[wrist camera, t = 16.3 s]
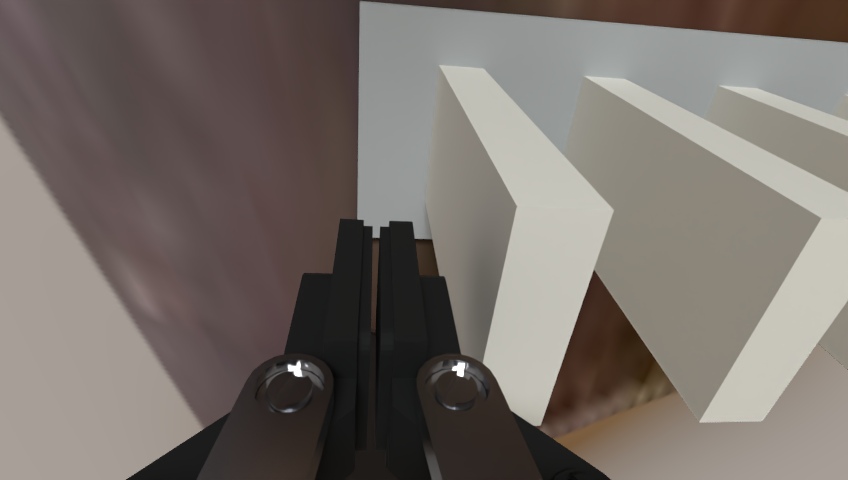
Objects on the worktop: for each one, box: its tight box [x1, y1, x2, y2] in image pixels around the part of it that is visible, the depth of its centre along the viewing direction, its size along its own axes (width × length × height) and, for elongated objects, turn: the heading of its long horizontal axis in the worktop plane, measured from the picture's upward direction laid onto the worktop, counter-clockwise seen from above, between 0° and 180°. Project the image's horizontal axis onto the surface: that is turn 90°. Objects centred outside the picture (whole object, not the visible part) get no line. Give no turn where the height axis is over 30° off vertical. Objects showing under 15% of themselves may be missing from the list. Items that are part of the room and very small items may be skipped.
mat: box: [357, 1, 848, 239], centre depth 21 cm, size 30×10×1 cm, turn 85°
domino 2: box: [564, 76, 848, 422], centre depth 16 cm, size 2×6×12 cm, turn 175°
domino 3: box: [705, 86, 848, 370], centre depth 16 cm, size 2×6×12 cm, turn 175°
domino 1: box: [425, 65, 614, 426], centre depth 15 cm, size 2×6×12 cm, turn 175°
